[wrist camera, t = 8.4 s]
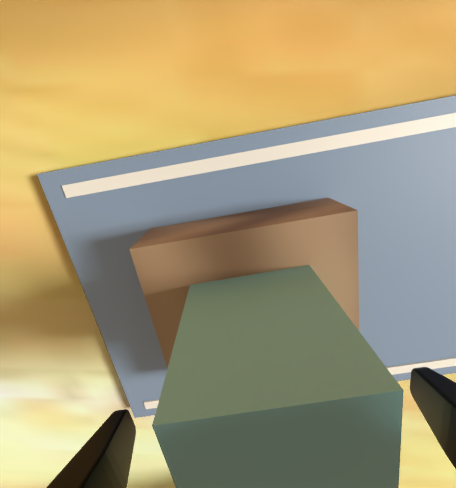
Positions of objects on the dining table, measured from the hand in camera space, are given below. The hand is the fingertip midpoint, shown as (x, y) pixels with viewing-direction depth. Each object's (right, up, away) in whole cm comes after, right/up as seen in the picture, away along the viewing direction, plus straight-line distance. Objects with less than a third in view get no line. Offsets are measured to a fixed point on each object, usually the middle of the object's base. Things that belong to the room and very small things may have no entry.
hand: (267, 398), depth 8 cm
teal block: (0, +1, +3) cm, 4 cm away
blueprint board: (+2, +3, +7) cm, 8 cm away
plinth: (0, +2, +6) cm, 7 cm away
